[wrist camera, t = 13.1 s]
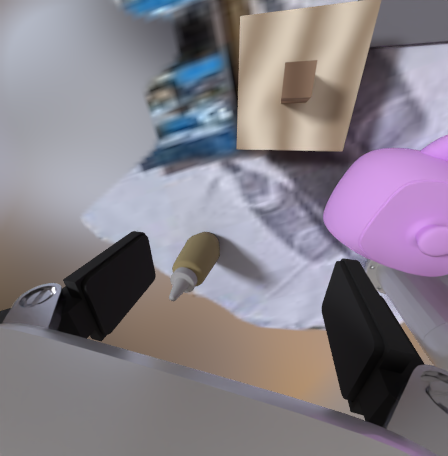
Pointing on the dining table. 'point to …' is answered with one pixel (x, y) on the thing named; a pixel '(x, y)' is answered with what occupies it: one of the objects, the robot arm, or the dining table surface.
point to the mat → (410, 23)
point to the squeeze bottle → (194, 263)
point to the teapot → (395, 208)
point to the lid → (302, 75)
